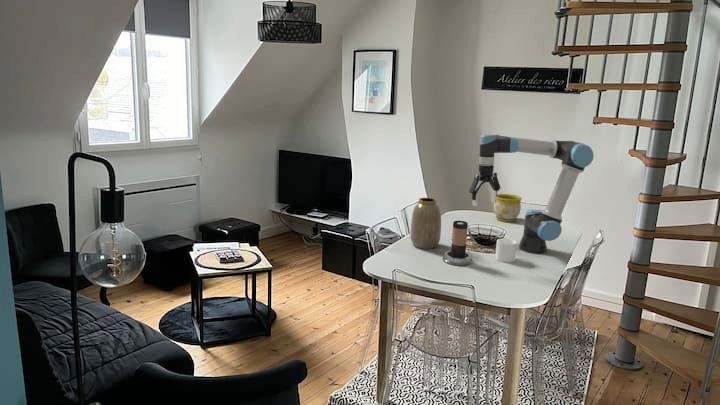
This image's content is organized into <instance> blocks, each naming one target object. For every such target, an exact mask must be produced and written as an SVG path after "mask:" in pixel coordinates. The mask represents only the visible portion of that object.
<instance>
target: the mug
mask: <svg viewBox="0 0 720 405" xmlns="http://www.w3.org/2000/svg"><path fill="white" fill-rule="evenodd" d="M495 246H496V247H495V257H494V258H495V260H496V261H497V262H501V263H506V264H507V263H508V264H509V263H514V262H515V260H516V251H517V250H516V249H517V241H516V240H514V239H510V238H498V239H497V240H496V245H495Z"/></svg>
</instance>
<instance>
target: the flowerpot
mask: <svg viewBox="0 0 720 405" xmlns="http://www.w3.org/2000/svg"><path fill="white" fill-rule="evenodd" d="M521 201H522V196H519V195H515V194H510V193H509V194H508V193H497V196H496V203H493V213H494V215H495V218H496V220H497V221H499V222H504V223H513V222H515V221H516V220H517V217H519V215H520V213H521V209H522V208H521V206H522V205H521Z"/></svg>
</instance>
